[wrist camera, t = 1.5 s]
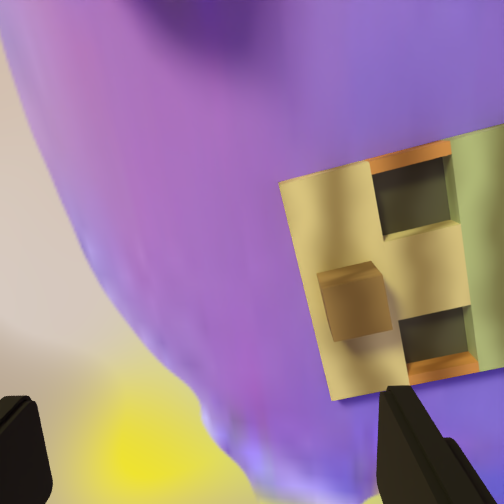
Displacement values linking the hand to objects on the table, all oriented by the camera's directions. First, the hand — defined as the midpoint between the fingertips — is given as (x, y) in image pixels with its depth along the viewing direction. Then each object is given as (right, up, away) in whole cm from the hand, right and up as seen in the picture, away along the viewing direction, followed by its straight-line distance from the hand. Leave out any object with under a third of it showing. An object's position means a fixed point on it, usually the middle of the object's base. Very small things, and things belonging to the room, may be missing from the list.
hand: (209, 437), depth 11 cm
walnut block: (+9, +2, +22) cm, 24 cm away
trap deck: (+16, +4, +24) cm, 29 cm away
